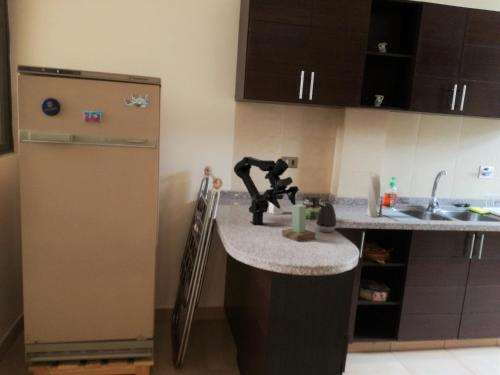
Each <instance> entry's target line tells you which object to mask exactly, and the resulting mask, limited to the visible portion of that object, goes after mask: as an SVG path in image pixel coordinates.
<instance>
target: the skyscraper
mask: <svg viewBox="0 0 500 375" xmlns="http://www.w3.org/2000/svg"><path fill="white" fill-rule="evenodd" d="M369 176H370V178H369V179H370V180H369V182H368V187H367V202H368V207H367V210H366V214H365V216H366V217H369V218H374V219H377V218H382V213H383V210H382V209H383V204H382V203H383V198H382V197H381V199H380V196H381V180H380V179H381V175H380V174H378V173H376V172H370V173H369ZM379 200H380V204H379V211H378V203H379Z"/></svg>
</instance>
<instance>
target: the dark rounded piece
mask: <svg viewBox="0 0 500 375" xmlns="http://www.w3.org/2000/svg"><path fill="white" fill-rule="evenodd" d="M317 205H318V206H320V210H319V213H318V216H317V221H315V224H316V226H317V229H318V230H319V231H320V232H322V233H332V232H333V231H335V229H336V227H337V214H336V211H335V207H334V206H333V204H332V203H331V202H327V201H326V202H324V203H323V204H321V203H320V204H319V203H318V204H317Z"/></svg>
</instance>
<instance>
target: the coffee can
mask: <svg viewBox="0 0 500 375" xmlns="http://www.w3.org/2000/svg"><path fill="white" fill-rule="evenodd" d="M302 197H303V199H302V201H303V202H302V205H305V206H306V222H316V221H317V216H318V213H319V210H320V208H321V207H320V206H318V205H317V204H318V203H319V204H321V201H322V200H321V198H322V196H321V195H317V194H303V195H302Z"/></svg>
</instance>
